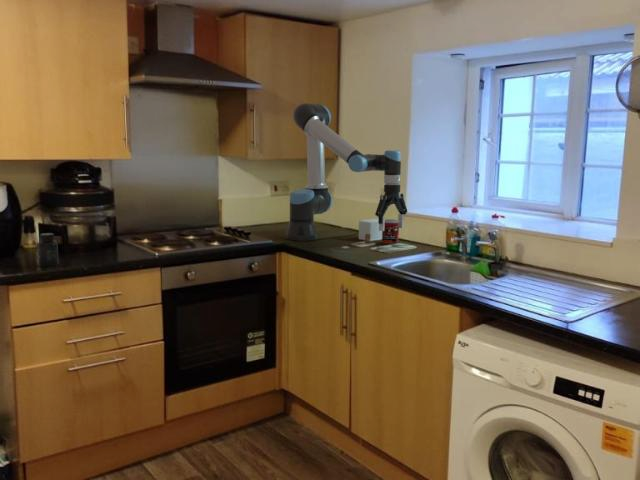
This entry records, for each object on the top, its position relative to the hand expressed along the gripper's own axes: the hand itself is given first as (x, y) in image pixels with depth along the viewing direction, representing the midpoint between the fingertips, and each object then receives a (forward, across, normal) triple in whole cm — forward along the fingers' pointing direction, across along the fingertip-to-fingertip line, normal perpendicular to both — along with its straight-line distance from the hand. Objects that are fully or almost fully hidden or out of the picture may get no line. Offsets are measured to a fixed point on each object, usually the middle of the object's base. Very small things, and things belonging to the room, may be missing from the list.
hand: (391, 229), depth 287 cm
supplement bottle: (+6, -139, +50) cm, 148 cm away
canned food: (+7, 0, 0) cm, 7 cm away
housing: (+7, +3, +14) cm, 16 cm away
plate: (+7, -13, +6) cm, 16 cm away
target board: (+7, -9, -10) cm, 15 cm away
